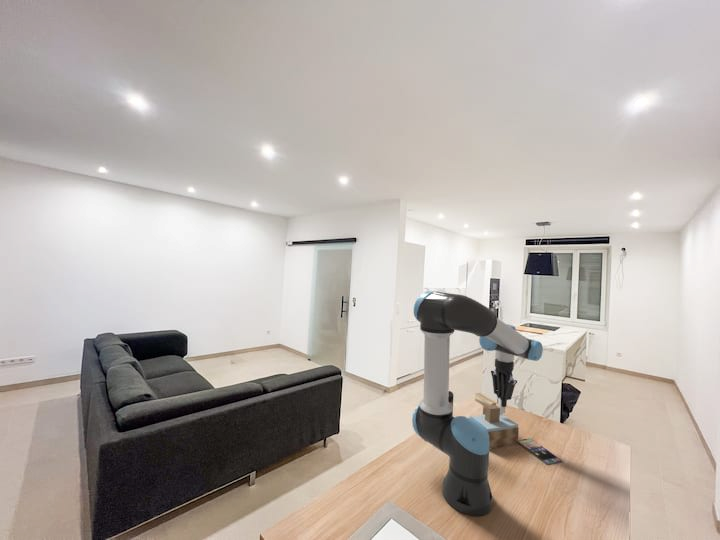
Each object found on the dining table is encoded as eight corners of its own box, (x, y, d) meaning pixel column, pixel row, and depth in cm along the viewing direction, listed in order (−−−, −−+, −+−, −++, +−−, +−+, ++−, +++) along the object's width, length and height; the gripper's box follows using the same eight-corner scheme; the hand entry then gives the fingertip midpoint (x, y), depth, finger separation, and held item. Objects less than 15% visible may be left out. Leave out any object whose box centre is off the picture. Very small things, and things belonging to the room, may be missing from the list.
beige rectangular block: (490, 411, 137) (491, 403, 137) (474, 400, 148) (475, 393, 148) (496, 410, 138) (496, 403, 138) (479, 399, 149) (480, 392, 149)
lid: (487, 434, 122) (488, 414, 122) (470, 421, 133) (471, 402, 132) (517, 429, 127) (518, 410, 127) (499, 417, 137) (500, 399, 137)
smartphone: (547, 466, 114) (547, 463, 114) (515, 443, 128) (516, 440, 128) (563, 463, 117) (563, 459, 116) (530, 440, 131) (530, 437, 131)
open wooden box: (486, 449, 122) (487, 426, 122) (463, 429, 137) (464, 408, 136) (519, 443, 127) (520, 421, 127) (493, 424, 142) (494, 404, 141)
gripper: (523, 364, 127) (519, 419, 128) (500, 354, 140) (497, 405, 140) (509, 365, 125) (505, 421, 125) (486, 355, 137) (483, 406, 138)
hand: (501, 412), depth 133 cm, fingers closed
